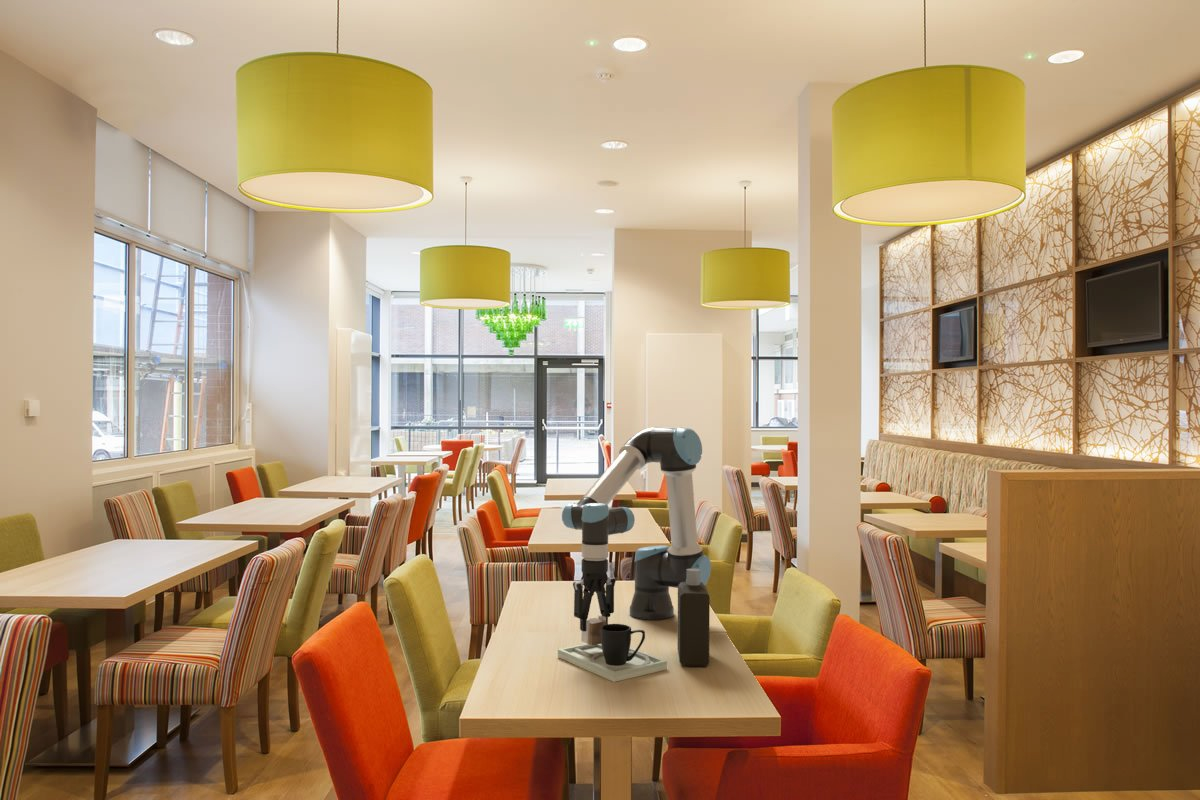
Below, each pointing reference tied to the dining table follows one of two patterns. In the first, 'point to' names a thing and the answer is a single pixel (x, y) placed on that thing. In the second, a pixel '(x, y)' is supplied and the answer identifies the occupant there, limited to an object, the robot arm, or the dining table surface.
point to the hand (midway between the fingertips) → (593, 640)
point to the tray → (595, 663)
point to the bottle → (693, 621)
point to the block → (596, 630)
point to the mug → (618, 643)
